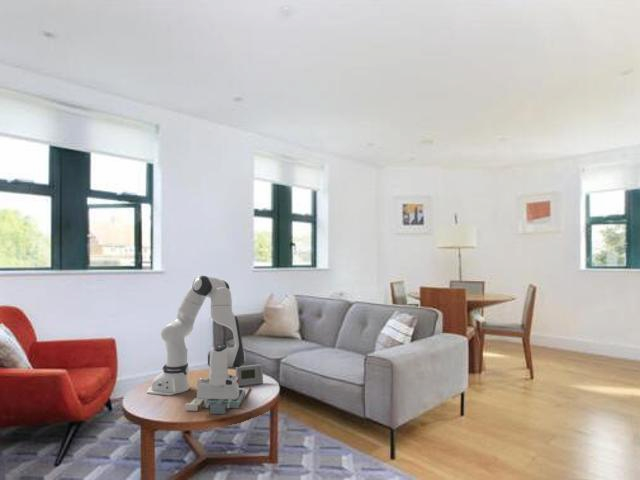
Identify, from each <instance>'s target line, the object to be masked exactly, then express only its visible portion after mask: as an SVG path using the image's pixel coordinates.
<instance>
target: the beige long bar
mask: <svg viewBox="0 0 640 480" xmlns="http://www.w3.org/2000/svg"><path fill="white" fill-rule="evenodd" d="M203 403H204V399H198V398H197V397H195V398H193V399H192V401H191V402H190V403H189V402H188V403H185V405H184V411H185V412H186V411H193V412H194V411H197V412H198V410H199V407H201V406H202V404H203Z"/></svg>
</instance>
